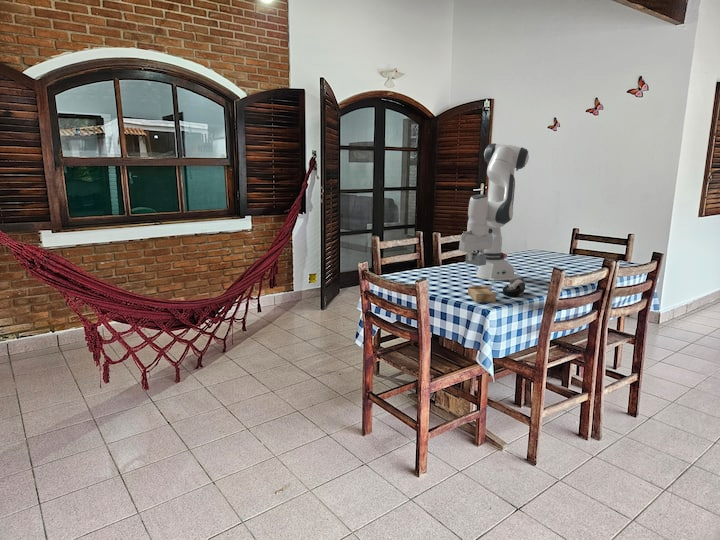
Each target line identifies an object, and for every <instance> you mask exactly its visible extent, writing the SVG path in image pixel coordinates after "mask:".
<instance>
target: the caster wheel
mask: <svg viewBox="0 0 720 540" xmlns="http://www.w3.org/2000/svg"><path fill="white" fill-rule="evenodd" d="M508 281H509V284H507V285H505V286H504V287H502V294H503V296H505V297H507V298H508V297H517V296H522V295H523V294H524V293H525V290H526V284H525V281H524V277H518V279H512V280H508Z"/></svg>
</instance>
